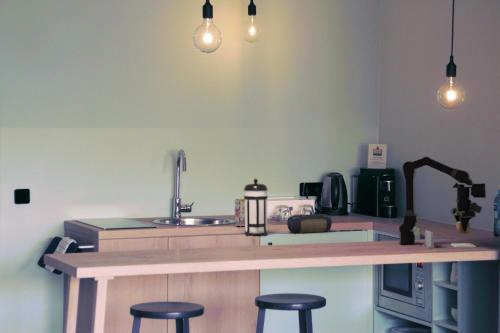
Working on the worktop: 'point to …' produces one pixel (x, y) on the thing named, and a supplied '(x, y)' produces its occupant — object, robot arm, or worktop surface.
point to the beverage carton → (415, 231)
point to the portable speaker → (309, 223)
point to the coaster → (463, 245)
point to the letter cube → (460, 229)
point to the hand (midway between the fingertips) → (463, 230)
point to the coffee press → (255, 208)
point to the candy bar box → (239, 210)
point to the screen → (429, 239)
